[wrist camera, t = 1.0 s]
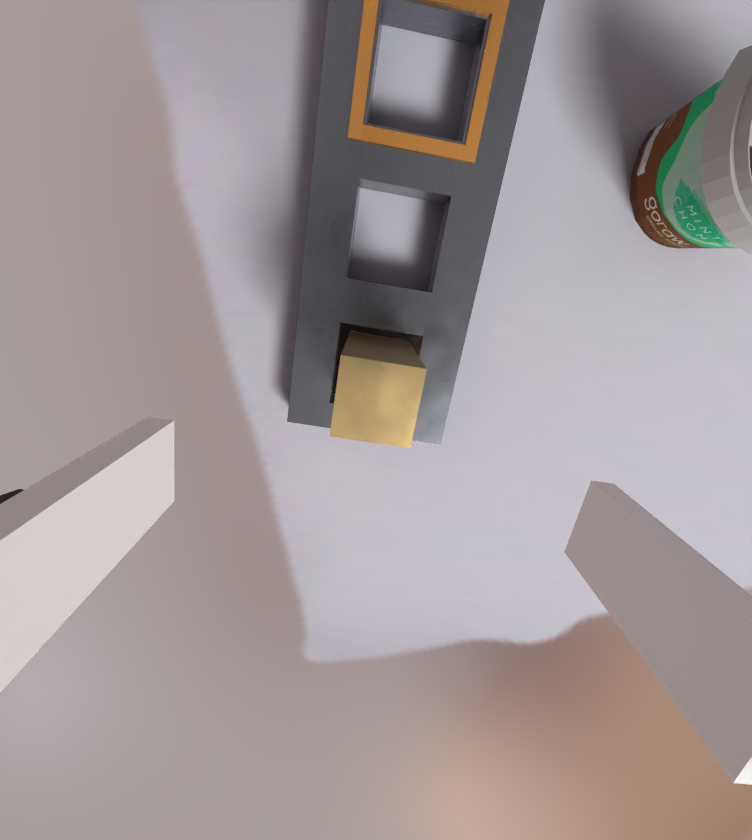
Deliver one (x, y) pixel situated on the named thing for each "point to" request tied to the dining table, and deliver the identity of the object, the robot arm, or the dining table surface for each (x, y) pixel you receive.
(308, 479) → the dining table surface
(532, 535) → the dining table surface
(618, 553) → the robot arm
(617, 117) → the dining table surface
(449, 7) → the grey slotted tray
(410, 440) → the brass post
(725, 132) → the food container
